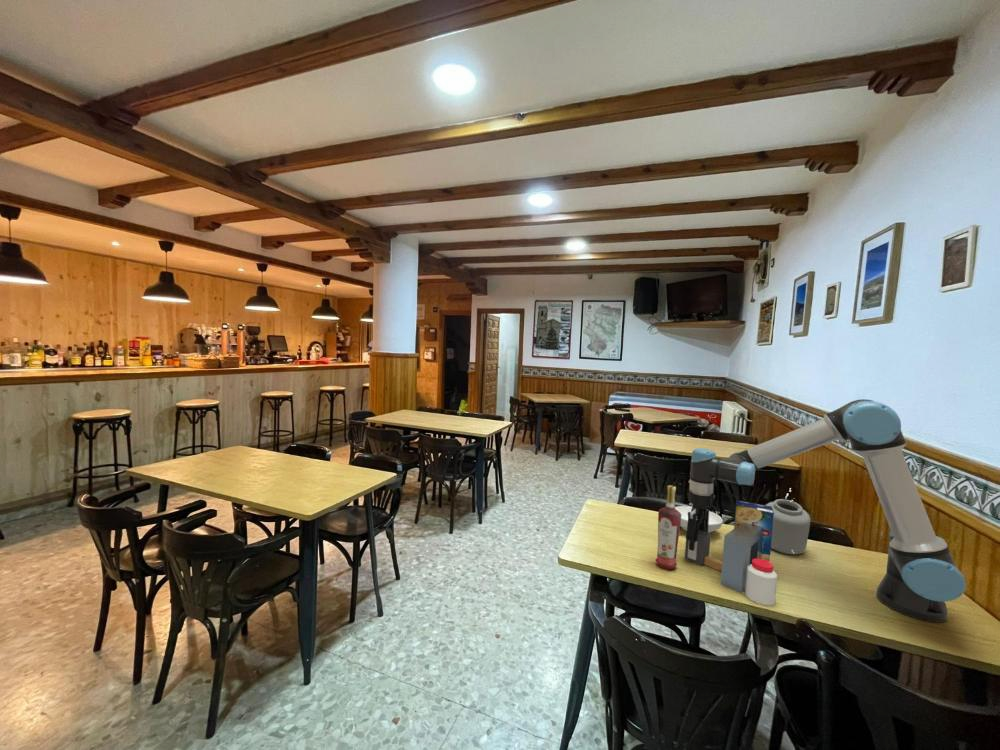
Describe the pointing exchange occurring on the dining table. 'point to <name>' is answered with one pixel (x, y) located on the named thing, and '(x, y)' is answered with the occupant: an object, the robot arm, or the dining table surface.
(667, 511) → the red glass bottle
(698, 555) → the hammer
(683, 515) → the bowl
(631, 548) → the dining table surface
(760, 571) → the pill bottle
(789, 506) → the jar
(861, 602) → the dining table surface
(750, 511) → the blue food box
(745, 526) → the block
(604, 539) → the dining table surface
